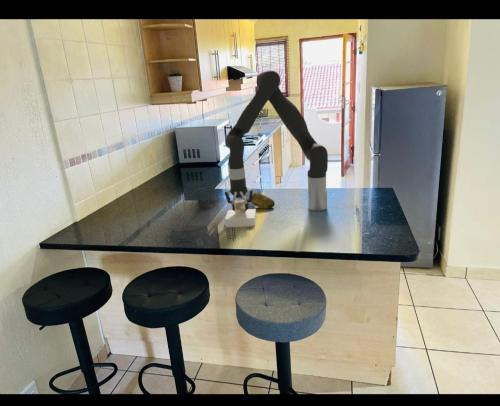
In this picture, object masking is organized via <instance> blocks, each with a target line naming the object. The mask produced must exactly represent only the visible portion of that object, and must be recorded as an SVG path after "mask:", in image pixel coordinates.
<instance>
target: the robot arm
mask: <svg viewBox="0 0 500 406" xmlns="http://www.w3.org/2000/svg"><path fill="white" fill-rule="evenodd" d="M280 84H281V77H280V75H279V73H278V72H277V71H275V70H266V71H263V72H260V73H259V74H258V75H257V77H256V86H257V91H256V92H255V94H254V96H253V98H252V99H251V100H250V102H248V104H247V105H246V107H245V108H244V109H243V111H242V113H241V114H240V116H239V117H238V119H237V121H236V123H235V125H234V126H232V129H230V131H229V132H228V134H227V135H226V137H225V140H224V141H225V142H224V144H225V146H226V147H227V149H229V157H228V178H229V185H230V189H229V190H225V191H224V195H225V198H226V199H225V200H227V201H226V202H227V204H230V205H231V208H232V209H231V210H234V211H235V208H234V203H235V200H237V199H238V198H240V199H242V200H244V202H245V211H247V210H248V209H249V203H251V199H252V194H254V190H253V188H249V189H248V187H247V183H246V182H247V180H246V170H245V165H244V163H245V162H244V155H245V154H244V151H245V142H244V139H243V138H244V136H245V135H246V134H248V133H249V132H250V131H251V129H252V127H253V125H254V124H255V122H256V121H257V118H258V117H259V115H260V113H261V111H262V110H263V109H264V107H265V105H266V104H267V102H268V101H269V103H270V104H271V106H272V108H273V109H274V111H275V112H276V114H277V115H278V117H279V119H280V120H281V121H282V123H283V125H284V126H285V127H286V129H287V130H288V131H289V133H290V134H291V136H292V137H293V138H294V139H295V141H296V142H297V143H298V145H299V147H300V148H301V150H302V152H303V154H304V156H305V158H306V159H307V160H308V161H309V169H308V170H307V198H308V205H307V206H308V207H307V208H308V210H310V211H313V212H321V211H324V210H328V191H327V172H328V165H329V162H328V161H329V154H328V150H327V148H326V147H325V146H323V145H321V144H319V143H318V142H317V141H316V140H315V139H314V137H313V136H312V135H311V133H310V132H309V128H308V125H307V123H306V122H307V121H306V120H305V118H304V116H303V115H302V113H301V111H300V110H299V109H298V107H297V106H296V105H295V104H294V103H293V102H292V101H290V99H288V98H287V97H286V96H285V95H284V93H283V92H282V90H281V89H280ZM247 193H248V195H249V197H248V198H247V196H246V194H247ZM230 194H231V195H232V196H233V197H232V200H231V197H230Z"/></svg>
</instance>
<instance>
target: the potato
mask: <svg viewBox="0 0 500 406" xmlns="http://www.w3.org/2000/svg"><path fill="white" fill-rule="evenodd" d="M250 203H251V204H253V206H255V207H257V208H259V209H261V210H268V209H273V207H274V206H275V205H276V204H275V201H274V200H273V199H272V198H271V197H269V196H266V195H264V194H262V193H260V192H253V193H252V199H251V202H250Z"/></svg>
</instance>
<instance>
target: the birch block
mask: <svg viewBox="0 0 500 406" xmlns="http://www.w3.org/2000/svg"><path fill="white" fill-rule="evenodd" d="M234 208H235V214H236V213H245V212H246V211H245V202H244V200H243V199H238V200H237V199H235V203H234Z"/></svg>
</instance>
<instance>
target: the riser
mask: <svg viewBox="0 0 500 406" xmlns="http://www.w3.org/2000/svg"><path fill="white" fill-rule="evenodd" d="M256 220H257V209H256V208H248V210H247V211H246V212H245V213H236V214H235V211H234V210H232V209H228V210H227V213H226V216H225V218H224V224H225V228H238V227H239V228H240V227H242V228H244V227H256Z"/></svg>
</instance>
